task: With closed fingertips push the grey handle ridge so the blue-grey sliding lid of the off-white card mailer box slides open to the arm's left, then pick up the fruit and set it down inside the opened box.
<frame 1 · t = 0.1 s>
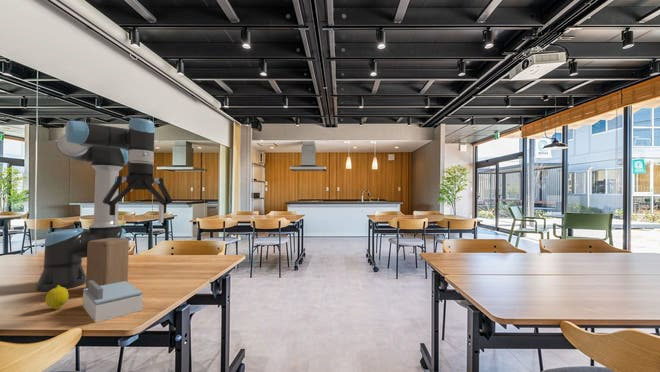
hand: (139, 224, 97), 28 cm above the table, fingers open, 13 cm apart
wooden block: (107, 289, 113), on the table
mailer box: (112, 308, 93), on the table
fruit: (56, 309, 93), on the table
lid: (112, 286, 94), point 7 cm above the table, slide at 0.0 cm
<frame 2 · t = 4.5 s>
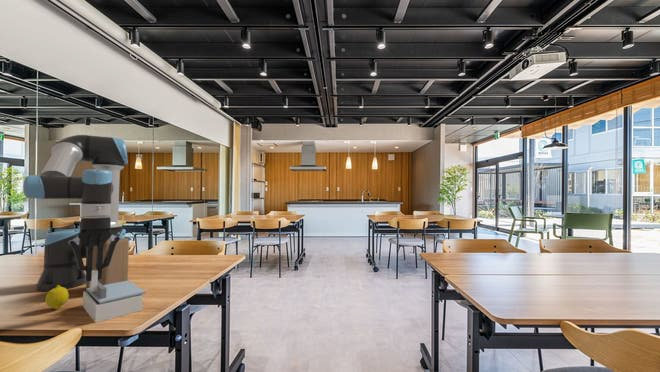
hand: (93, 290, 90), 7 cm above the table, fingers closed
lid: (115, 286, 94), point 7 cm above the table, slide at 0.9 cm, touching gripper
everything else where it was.
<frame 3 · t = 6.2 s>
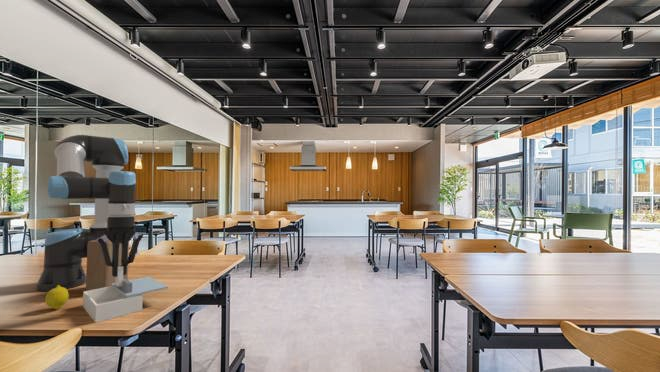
hand: (119, 285, 95), 7 cm above the table, fingers closed
lid: (139, 281, 100), point 7 cm above the table, slide at 7.7 cm, touching gripper
everything else where it was.
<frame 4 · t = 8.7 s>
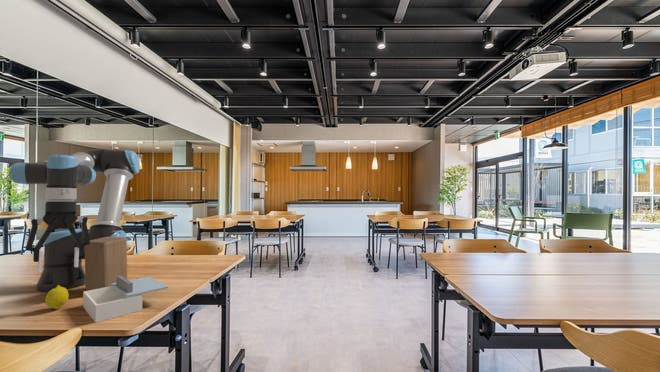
hand: (58, 268, 93), 13 cm above the table, fingers open, 8 cm apart
wooden block: (107, 288, 113), on the table, touching arm
lid: (139, 281, 100), point 7 cm above the table, slide at 7.8 cm
everything else where it was.
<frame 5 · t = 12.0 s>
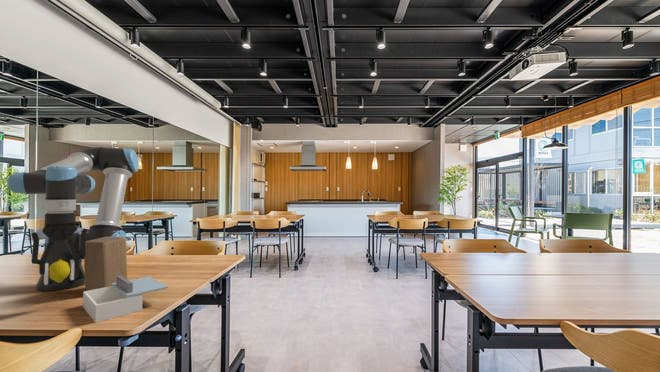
hand: (59, 281, 94), 9 cm above the table, fingers closed on fruit, 6 cm apart
wooden block: (107, 288, 113), on the table
fruit: (59, 282, 94), point 8 cm above the table, touching gripper
everything else where it was.
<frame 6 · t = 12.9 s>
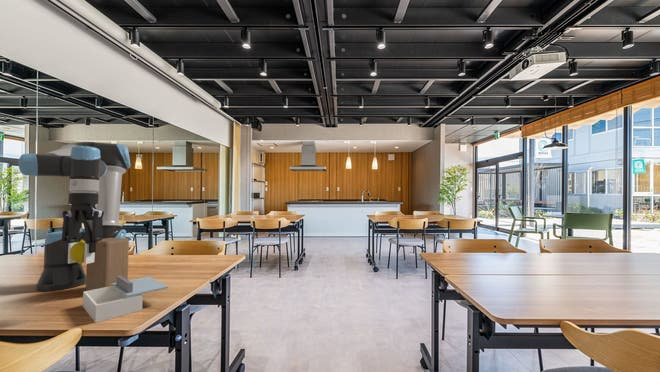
hand: (81, 262, 92), 16 cm above the table, fingers closed on fruit, 6 cm apart
fruit: (80, 264, 92), point 15 cm above the table, touching gripper
when the fingers open (2 cm above the table, at t = 16.2 s): fruit drops 1 cm, resting on mailer box.
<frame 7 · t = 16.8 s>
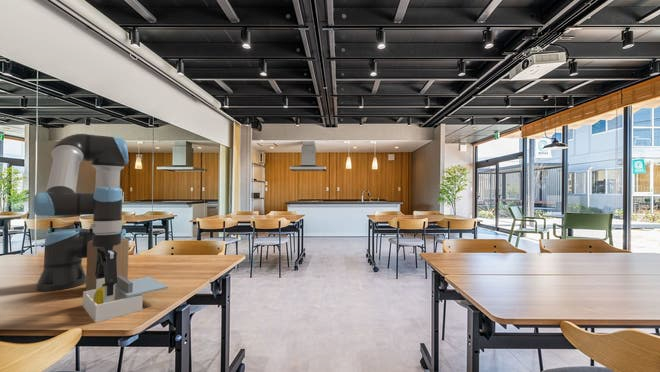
hand: (104, 301, 92), 3 cm above the table, fingers open, 10 cm apart
fruit: (104, 309, 92), resting on mailer box
everything else where it was.
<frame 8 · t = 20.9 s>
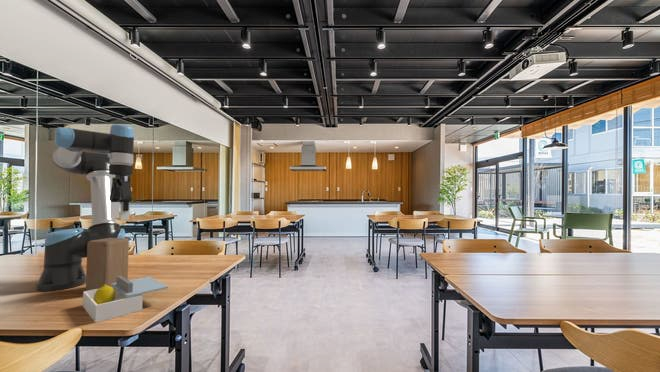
hand: (119, 219, 109), 29 cm above the table, fingers open, 13 cm apart
nothing on the table moved.
at the end: lid slide at 7.8 cm; fruit inside the target area on the mailer box (2.1 cm from its centre), point 0.4 cm above the mailer box's base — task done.
